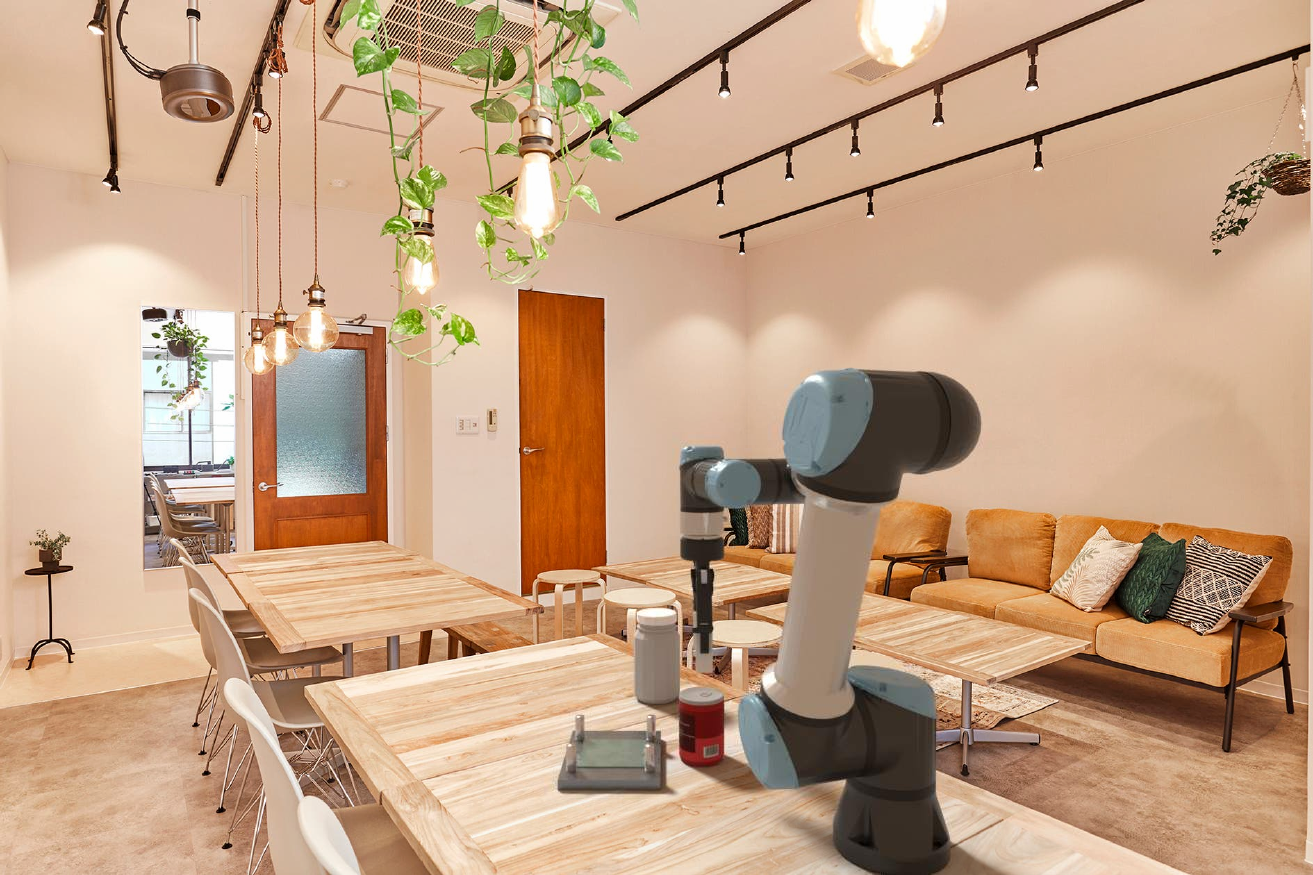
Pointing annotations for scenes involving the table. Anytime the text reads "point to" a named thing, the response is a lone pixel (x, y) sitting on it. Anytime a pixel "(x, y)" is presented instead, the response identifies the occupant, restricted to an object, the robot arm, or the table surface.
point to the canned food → (701, 726)
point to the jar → (656, 656)
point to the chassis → (612, 759)
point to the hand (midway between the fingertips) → (702, 660)
